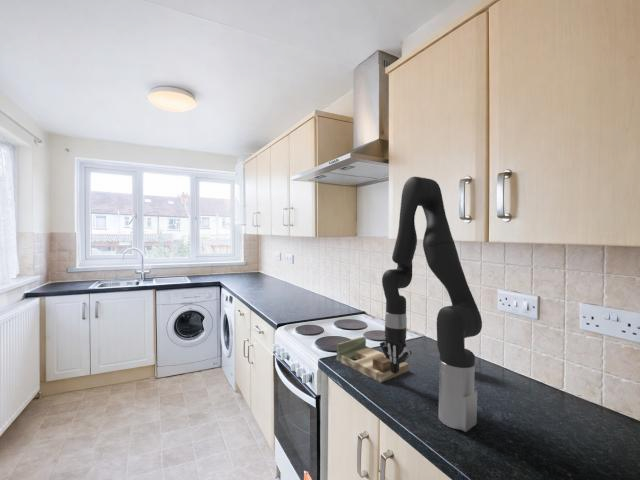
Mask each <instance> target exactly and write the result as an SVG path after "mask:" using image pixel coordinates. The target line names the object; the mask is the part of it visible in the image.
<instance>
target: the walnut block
mask: <svg viewBox="0 0 640 480" xmlns="http://www.w3.org/2000/svg"><path fill="white" fill-rule="evenodd" d="M390 365H391V362H390V360H389V359H387V358H386V357H384V356H379V357H376V358H373V368H374V369H376V370H378V371H380V372H382V373H384V372H386V371H389V370H391V369H390Z"/></svg>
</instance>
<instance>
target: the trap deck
mask: <svg viewBox="0 0 640 480" xmlns="http://www.w3.org/2000/svg"><path fill="white" fill-rule="evenodd" d="M366 340H367V337H366V336H360V337H357V338H352V339H349V340H346V341H342V342H339V343H336V361H337V362H339V363H341V364H343V365H345V366H347V367H349V368H351V369H353V370H355V371H356V372H358V373H360V374H363V375H365V376H366V377H368V378H369V379H370V378H371V379H372V380H375V382H378V383H380V384H382V383H383V382H386V381H389V380H391V379H393V378H395V377H398V376H400V375H402V374H405V373H407V372H409V363H408V362H405V361H404V362H403V363H400V364H399V372H398V373H396V374H394V373H392V372H391V370H389V371H386V372H384V373H382V372H380V371H378V370H376V369H374V368H373V358H376V357H379V356H384V357H386V356H385V354H384V352H381V351H378V350H376V349H374V348H372V347H369V346H366V344H367V343H366V342H367V341H366Z"/></svg>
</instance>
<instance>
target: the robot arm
mask: <svg viewBox="0 0 640 480" xmlns="http://www.w3.org/2000/svg"><path fill="white" fill-rule="evenodd" d="M400 198H401V201H400V208H399V220H398V229H397V231H398V232H397V237H396V240H395V243H394V248H393V252H392V256H391V259H392V261H393V263H395V264H396V265H397V268H394V269H387V270H386V271H384V273H383V274H382V278H381V284H382V289H383V293H384V297H385V316H384V337H385V338H384V341H382V342H379V345H380V347H381V350H382V353H384V354H385V356H386V358H387V359H389V360H390V362H391V365H390V369H391V372H392V373H394V374H396V373H398V372H399V364H400V363H403V362H405V361H406V360H408V359H409V357H410V356H411V355H412V351H411V350H408V348H407V343H406V339H407V325H408V324H407V323H408V322H407V321H408V320H407V318H408V317H407V298H406V297H405V296H403V295H400V291H399V289H406V288H408V287H409V285H410V284H411V283H412V280H413V259H414V256H415V253H416V249H417V246H418V236H417V230H416V224H415V219H416V218H415V217H416V211H417V209H418V206H419V207H421V208H422V210H423V213H424V215H425V220H426V227H425V231H424V235H423V239H422V240H423V241H422V247H423V251H424V255H425V259H426V263H427V265H428V268H429V269H430V271H431V272H432V273H433V275H434V276H435V277H436V278H437V279H438V280H439V282H441V284H442V285H443V287H444V288H445V290H446V291H447V293H448V296H449V299H450V302H451V305H448V306H443V307H442V308H440V309H439V311H438V313H437V316H436V343H437V344H436V346H437V349H438V353H439V371H438V373H439V375H438V377H439V378H438V381H439V382H438V420H439V421H440V422H441V423H442V424H444V425H445V426H447V427H448V428H451V429H454V430H460V431H462V432H464V433H466V432H468V431H470V430H471V429H472V428H473V427H474V426H476V425H477V423H478V422H477V417H478V416H477V414H478V391H477V390H475V374H476V373H475V372H476V371H475V370H476V368H475V367H476V366H475V365H476V355H475V354H474V352H473V351H472V350H470V349H468V348H466V347H465V348H464V338H465V339H467V338H471V337H472V338H473V337H475V336H477V335H479V334H480V333H481V332H482V330H483V329H482V328H483V321H482V317H481V312H480V310H479V308H478V305H477V304H476V301H475V298H474V296H473V294H472V291H471V290H470V287H469V284H468V281H467V279H466V275H465V273H464V269H463V267H462V264H461V261H460V258H459V253H458V250H457V247H456V243H455V241H454V240H455V239H454V238H453V235H452V233H451V228H450V225H449V221H448V219H447V214H446V209H445V204H444V200H443V195H442V190H441V187H440V185H439V183H438V182H437V181H436V180H434V179H430V178H426V177H421V176H411V177H409V178H408V179H406V181H405V182H404V185H403V187H402V192H401V197H400Z"/></svg>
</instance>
